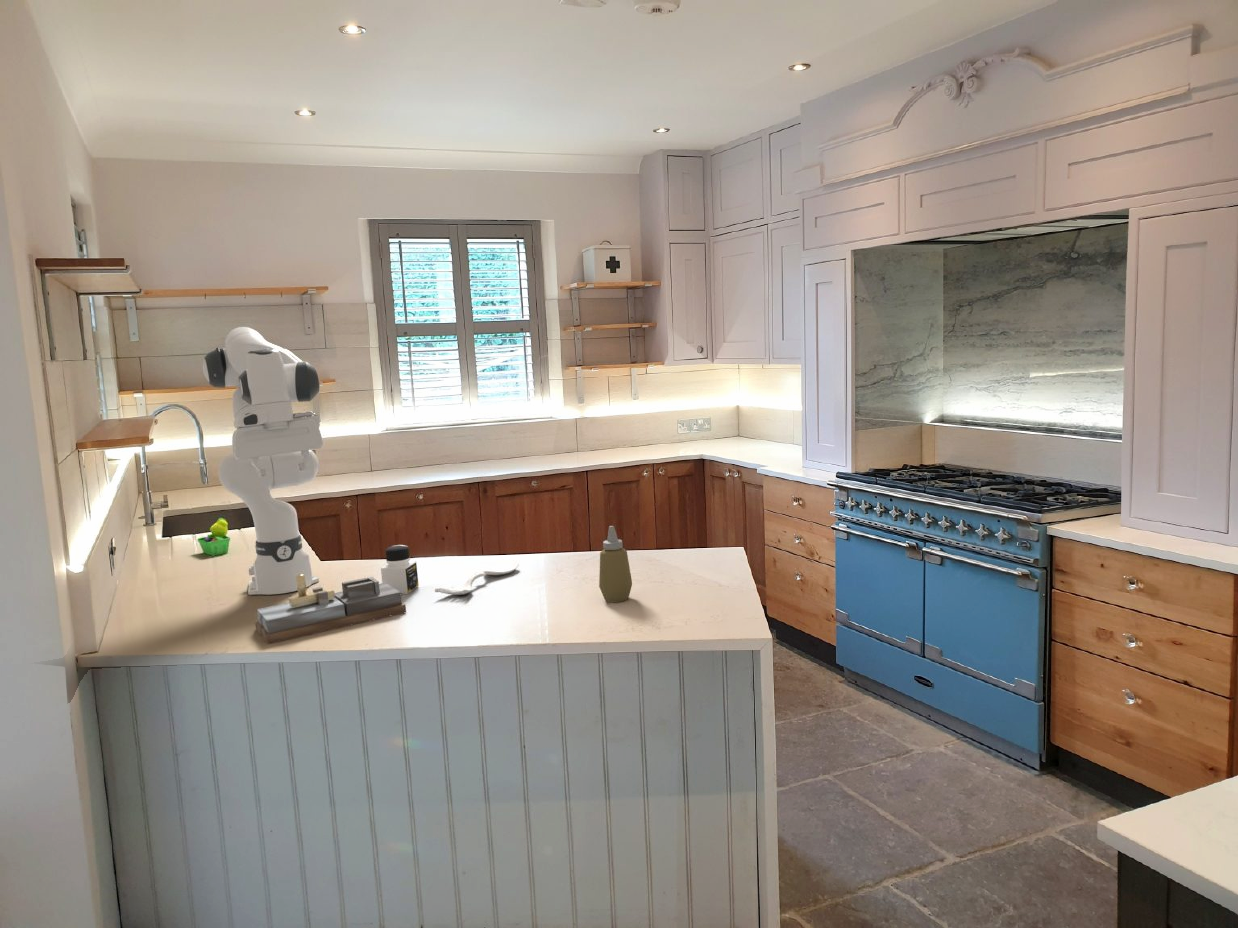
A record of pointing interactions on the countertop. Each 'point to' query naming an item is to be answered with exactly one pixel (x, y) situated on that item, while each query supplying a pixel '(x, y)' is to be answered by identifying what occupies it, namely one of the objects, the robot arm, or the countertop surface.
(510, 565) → the white fork
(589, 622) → the countertop surface
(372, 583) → the sliding barrel latch
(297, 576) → the bolt
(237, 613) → the countertop surface
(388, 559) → the medicine bottle
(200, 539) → the fruit basket
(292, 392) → the robot arm
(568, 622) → the countertop surface
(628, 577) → the squeeze bottle
